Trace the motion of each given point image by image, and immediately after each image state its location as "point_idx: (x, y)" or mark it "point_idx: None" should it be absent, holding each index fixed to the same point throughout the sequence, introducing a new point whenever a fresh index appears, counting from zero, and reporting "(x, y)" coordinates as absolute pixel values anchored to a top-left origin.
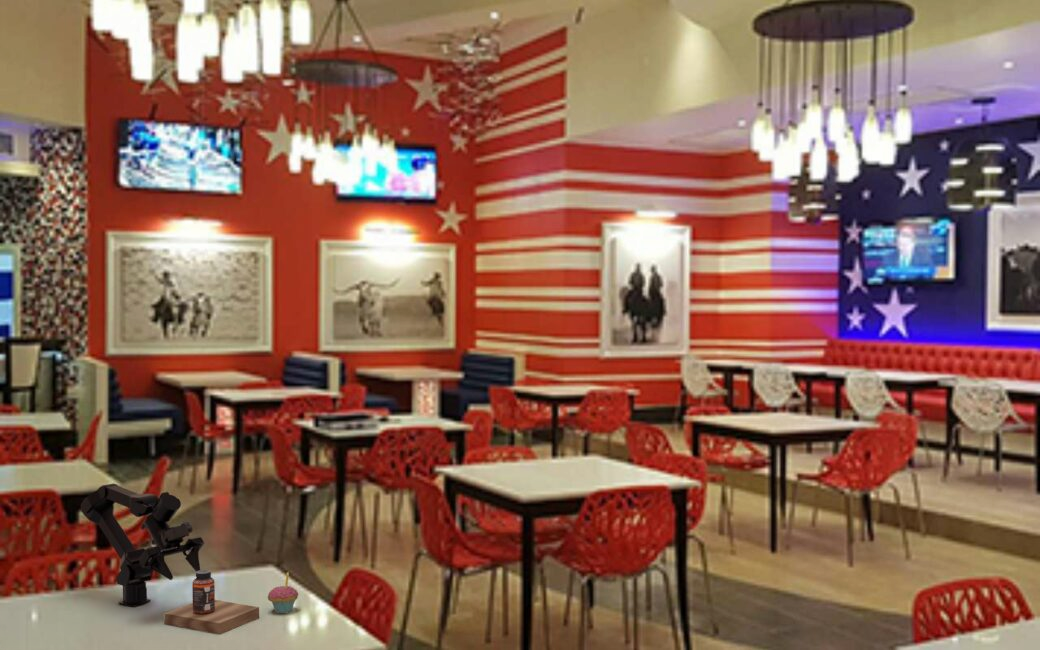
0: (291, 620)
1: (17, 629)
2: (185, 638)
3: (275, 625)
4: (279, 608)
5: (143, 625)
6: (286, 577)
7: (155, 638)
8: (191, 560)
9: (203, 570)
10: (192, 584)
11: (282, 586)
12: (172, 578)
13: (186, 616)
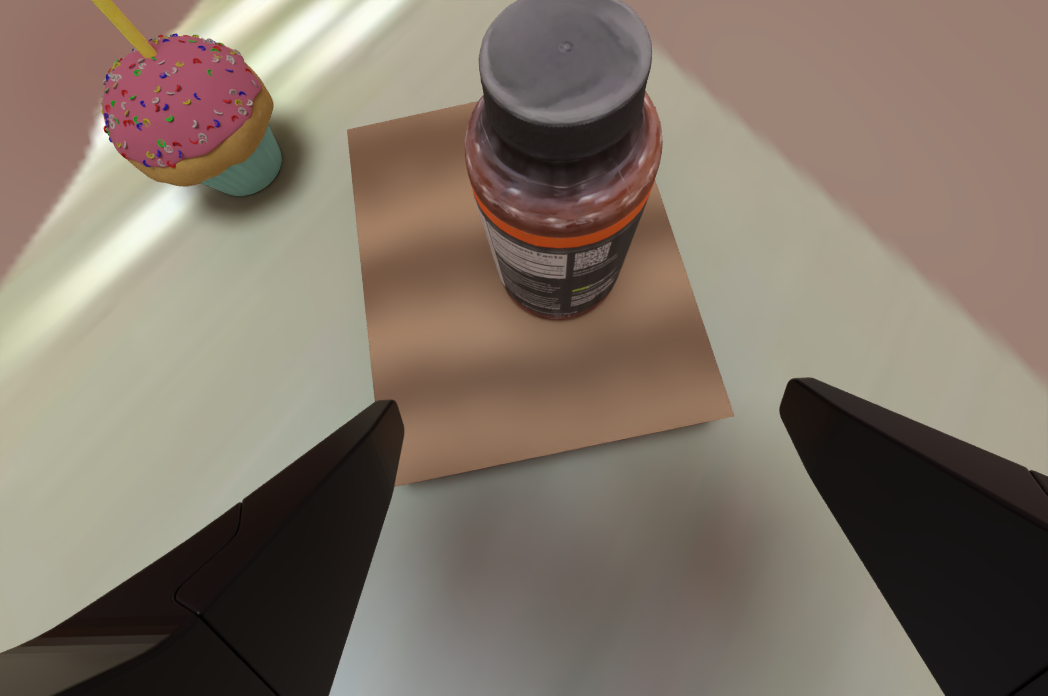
0: (328, 59)
1: None
2: (739, 168)
3: (404, 55)
4: (271, 131)
5: (803, 496)
6: None
7: (844, 261)
8: (299, 650)
9: (536, 80)
10: (648, 194)
11: (135, 81)
12: (792, 384)
13: (671, 265)
